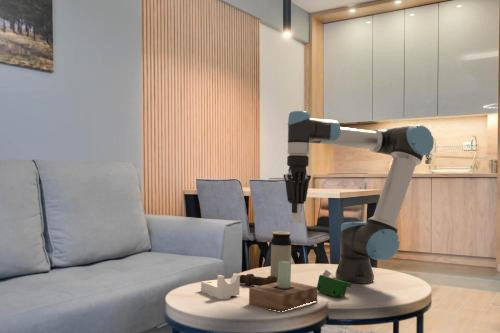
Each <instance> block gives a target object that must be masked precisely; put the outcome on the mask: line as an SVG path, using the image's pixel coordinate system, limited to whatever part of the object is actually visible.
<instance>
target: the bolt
mask: <svg viewBox="0 0 500 333" xmlns="http://www.w3.org/2000/svg"><path fill="white" fill-rule="evenodd" d="M239 275H240V284H244V285H245V286H246V285H247V286H246V287H252V286H251V285H253V286H255V287H257V286H262V285H267V284H272V283H276V282H278V279H277V278H276V276H274V275H271V276H270V275H268V276H267V277H262V276H255V275H254V273H246V274H239Z"/></svg>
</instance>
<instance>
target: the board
mask: <svg viewBox="0 0 500 333" xmlns="http://www.w3.org/2000/svg"><path fill="white" fill-rule="evenodd" d="M277 286H278V281H277V282H276V283H272V284H267V285H262V286H251V287H248V288H249V291H248V292H249V293H248V294H249V295H248V297H249V298H248V304H249V305H250V306H254V307H256V308H257V307H258V308H261V307H262V309H265V308H266V309H265V310H268V309H271V310H270V311H272V310H276V311H280V312H282V311H285V310H288V309H291V308H294V307H297V306H300V305H303V304H306V303H310V302H313V301H317V302H318V290H317V286H314V285H308V284H304V283H300V282H295V281H290V289H289V290H281V289H278V288H277Z"/></svg>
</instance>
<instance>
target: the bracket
mask: <svg viewBox="0 0 500 333" xmlns="http://www.w3.org/2000/svg"><path fill="white" fill-rule="evenodd" d="M240 275H241V274H239V273H236V272H234V273H233V274H232V276H231V279H230V280H228V281H226V280H225V276H224V275H222V274H218V275H217V276H216V277H217V279H213V280H212V279H211V280H204V281H203V280H202V281H200V282H201V283H200V284H201V285H200V292H203V293H205V294H206V295H210V296H212V297H214V298H217V299H220V300H227V299H231V297H232V296H239V295H240V284H241V283H240Z"/></svg>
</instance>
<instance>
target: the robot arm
mask: <svg viewBox="0 0 500 333" xmlns="http://www.w3.org/2000/svg"><path fill="white" fill-rule="evenodd" d="M287 121H288V122H287V157H286V158H287V160H286V165H287V166H288V172H287V173H286V174H283V179H284V182H285V183H284V184H285V192H286V198H287V202H288V203H289V204H291V222H292V223H297V224H299V223H302V204H303V205H304V204H305V202H306V201H307V197H308V196H307V195H308V192H309V191H308V190H309V184H310V181H311V178H312V175H309V174H308V172H307V167H309V163H310V162H309V160H310V159H309V158H310V157H309V156H308V155H309V154H310V144H321V145H330V146H338V147H345V148H346V147H347V148H352V149H353V148H354V149H363V150H369V151H370V152H371V153H376V154H383V155H387V156H391V157H392V162H391V166H390V167H389V171H388V173H387V176H386V179H385V182H384V184H383V188H382V191H381V193H380V196H379V199H378V201H377V205H376V208H375V211H374V213H373V216H371V217H369V218H367V220H366V221H353V222H352V221H349V222H347V221H346V222H343V223H341V226H340V233H339V234H340V249H339V250H340V251H339V252H340V255H339V256H340V257H339V258H340V259H339V261H338V266H337V267H336V268H337V269H336V270H335V279H338V280H340V281H344V282H348V283H351V284H369V283H368V282H371V283H373V282H372V281H373V280H374V281H375V274H374V271H373V270H374V269H373V267H372V264H371V259H373V260H375V261H388V260H390V259H392V258H393V257H394V256H395V255H396V254H397V253H398V251H399V248H400V244H401V243H400V242H401V241H400V240H399V238H400V237H399V235H398V231H399V227H398V226H397V220H398V218H399V215H400V212H401V210H402V206H403V203H404V201H405V198H406V195H407V192H408V189H409V186H410V183H411V180H412V177H413V175H414V172H415V168H416V167H417V166H420V165H421V164H422V160H423V158H424V156H427V155H428V154H430V153H431V152H432V150H433V149H434V145H435V144H434V143H435V142H434V137H433V135H432V132H431V130H430V129H429V128H428V127H426V126H425V125H422V124H411V125H406V126H399V127H392V128H386V129H382V128H381V129H379V128H374V129H372V130H369V129H359V128H358V129H357V128H351V127H343V126H341V124H340V122H339V121H338V120H335V119H331V118H330V119H327V118H326V119H324V118H313V117H311V113H310V112H309V111H305V110H293V111H291V112H289V114H288V120H287Z"/></svg>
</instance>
